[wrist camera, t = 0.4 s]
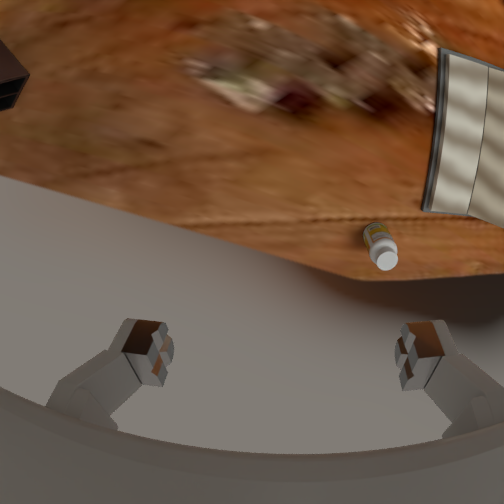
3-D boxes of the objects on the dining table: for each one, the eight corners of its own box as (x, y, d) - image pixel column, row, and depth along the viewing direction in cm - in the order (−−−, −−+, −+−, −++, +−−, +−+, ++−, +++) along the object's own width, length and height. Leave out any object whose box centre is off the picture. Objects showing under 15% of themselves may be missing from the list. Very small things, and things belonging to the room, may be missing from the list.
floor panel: (438, 47, 37) (444, 47, 35) (532, 82, 35) (539, 84, 33) (421, 209, 55) (425, 215, 53) (508, 218, 52) (514, 224, 50)
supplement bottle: (378, 249, 61) (390, 277, 52) (357, 239, 60) (367, 267, 52) (392, 228, 58) (407, 255, 50) (371, 217, 57) (384, 243, 49)
